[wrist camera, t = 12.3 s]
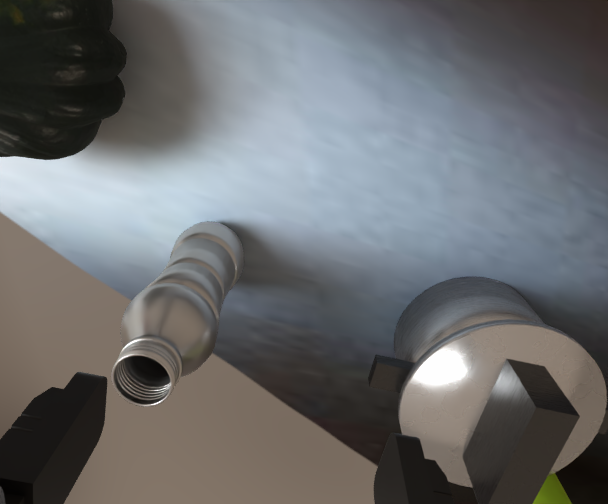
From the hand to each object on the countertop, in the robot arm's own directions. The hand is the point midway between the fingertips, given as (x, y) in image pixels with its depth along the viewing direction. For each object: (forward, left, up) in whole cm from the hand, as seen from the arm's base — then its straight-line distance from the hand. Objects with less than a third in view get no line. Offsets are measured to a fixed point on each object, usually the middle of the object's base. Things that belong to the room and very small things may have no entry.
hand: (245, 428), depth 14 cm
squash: (-5, -21, -32) cm, 39 cm away
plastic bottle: (+9, -6, -32) cm, 34 cm away
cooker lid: (+13, +20, -22) cm, 32 cm away
